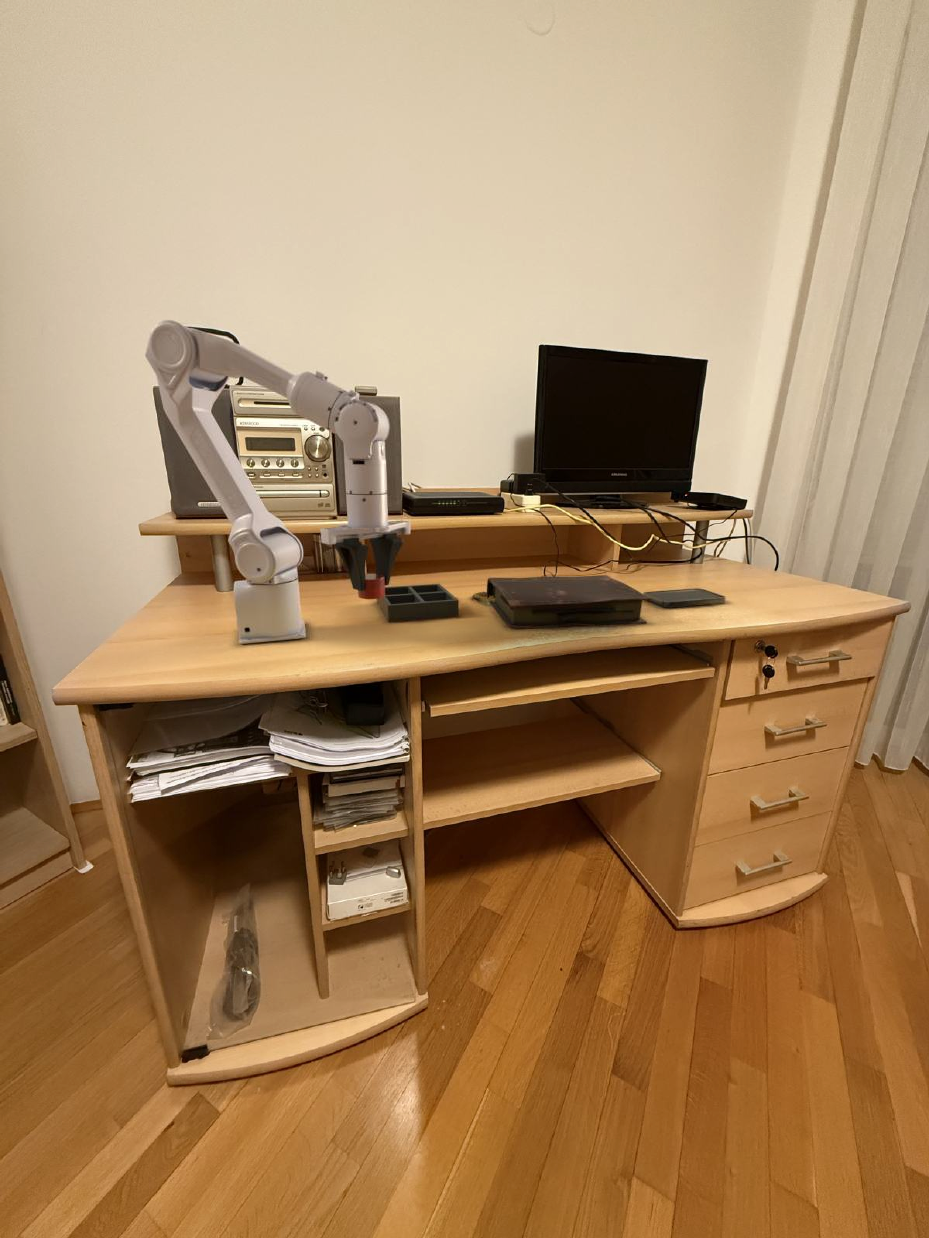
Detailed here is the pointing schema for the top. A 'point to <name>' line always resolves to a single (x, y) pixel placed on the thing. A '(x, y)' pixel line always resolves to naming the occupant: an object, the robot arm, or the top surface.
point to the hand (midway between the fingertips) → (371, 586)
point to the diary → (565, 601)
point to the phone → (684, 597)
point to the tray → (418, 603)
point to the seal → (483, 598)
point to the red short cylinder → (373, 587)
